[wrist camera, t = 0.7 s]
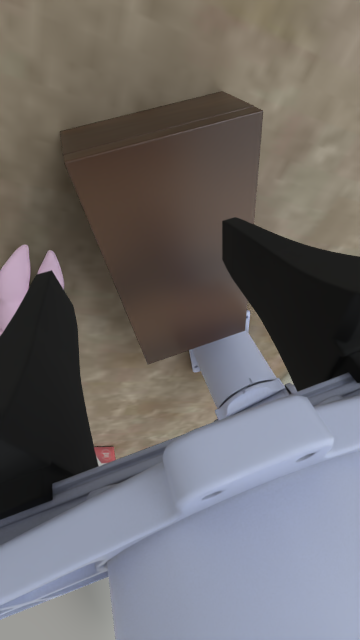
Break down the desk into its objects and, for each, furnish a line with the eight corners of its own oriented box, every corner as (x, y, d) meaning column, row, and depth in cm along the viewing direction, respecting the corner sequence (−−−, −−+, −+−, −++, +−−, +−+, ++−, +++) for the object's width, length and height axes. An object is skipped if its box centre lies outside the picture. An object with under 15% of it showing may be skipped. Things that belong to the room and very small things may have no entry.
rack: (224, 297, 31) (245, 331, 28) (136, 326, 30) (147, 364, 27) (222, 91, 17) (264, 110, 14) (59, 131, 16) (63, 162, 13)
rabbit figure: (49, 349, 30) (88, 242, 20) (48, 403, 27) (93, 308, 17) (-23, 345, 27) (-19, 216, 17) (-34, 407, 23) (-37, 291, 14)
